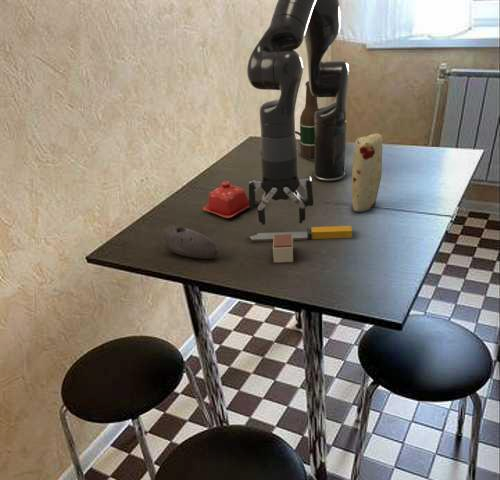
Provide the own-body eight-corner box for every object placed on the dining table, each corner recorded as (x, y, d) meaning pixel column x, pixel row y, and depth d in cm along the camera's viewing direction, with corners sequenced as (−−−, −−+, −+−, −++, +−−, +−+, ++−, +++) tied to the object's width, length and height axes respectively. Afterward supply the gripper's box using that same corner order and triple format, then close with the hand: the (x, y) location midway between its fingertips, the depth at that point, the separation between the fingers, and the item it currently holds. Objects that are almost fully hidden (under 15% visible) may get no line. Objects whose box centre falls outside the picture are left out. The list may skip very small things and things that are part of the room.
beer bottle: (299, 158, 168) (297, 85, 154) (301, 150, 174) (300, 79, 160) (322, 158, 166) (323, 84, 152) (323, 150, 173) (324, 77, 158)
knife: (249, 242, 125) (248, 235, 124) (250, 235, 128) (249, 228, 127) (352, 238, 122) (352, 231, 121) (350, 232, 125) (351, 225, 124)
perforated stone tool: (224, 256, 120) (221, 231, 116) (212, 267, 117) (208, 242, 113) (176, 244, 127) (171, 220, 123) (163, 254, 124) (158, 230, 119)
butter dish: (200, 212, 141) (196, 184, 136) (228, 197, 148) (225, 170, 142) (228, 222, 134) (225, 194, 129) (257, 207, 141) (254, 179, 136)
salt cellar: (273, 262, 116) (272, 246, 114) (274, 250, 121) (273, 234, 118) (293, 262, 116) (292, 245, 113) (293, 249, 120) (292, 233, 118)
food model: (365, 217, 131) (369, 143, 119) (344, 211, 134) (346, 138, 123) (384, 203, 136) (390, 131, 124) (363, 198, 140) (367, 127, 128)
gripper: (312, 146, 106) (312, 214, 115) (246, 149, 107) (252, 216, 117) (313, 158, 100) (313, 229, 109) (244, 162, 101) (250, 231, 110)
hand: (282, 222), depth 113 cm, fingers open, 8 cm apart
